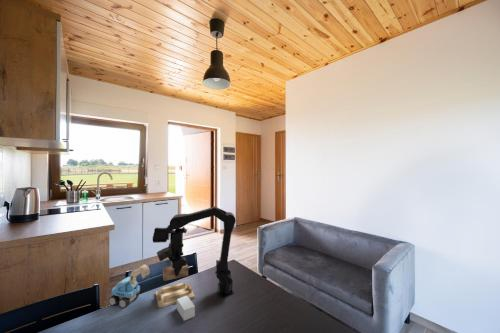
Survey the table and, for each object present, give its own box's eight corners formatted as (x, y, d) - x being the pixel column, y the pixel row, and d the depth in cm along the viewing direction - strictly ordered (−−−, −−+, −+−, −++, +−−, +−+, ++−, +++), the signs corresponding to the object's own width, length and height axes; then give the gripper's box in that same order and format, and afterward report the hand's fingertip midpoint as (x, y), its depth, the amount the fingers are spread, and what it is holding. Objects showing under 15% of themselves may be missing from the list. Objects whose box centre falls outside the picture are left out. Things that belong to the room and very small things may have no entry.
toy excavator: (139, 311, 92) (140, 271, 92) (106, 305, 95) (107, 266, 95) (152, 299, 100) (153, 263, 100) (121, 294, 104) (122, 258, 104)
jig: (188, 285, 113) (188, 280, 113) (194, 298, 102) (194, 292, 102) (155, 293, 105) (155, 287, 105) (158, 308, 94) (158, 301, 94)
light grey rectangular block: (176, 309, 94) (176, 298, 94) (186, 305, 97) (186, 295, 97) (184, 321, 87) (184, 310, 87) (194, 316, 90) (194, 306, 90)
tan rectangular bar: (186, 271, 108) (186, 262, 108) (188, 275, 104) (188, 266, 104) (162, 276, 103) (162, 267, 103) (163, 281, 99) (164, 271, 99)
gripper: (156, 238, 108) (155, 269, 108) (160, 251, 91) (159, 288, 91) (179, 235, 113) (178, 264, 113) (187, 247, 97) (186, 281, 97)
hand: (175, 273), depth 103 cm, fingers closed on tan rectangular bar, 4 cm apart
